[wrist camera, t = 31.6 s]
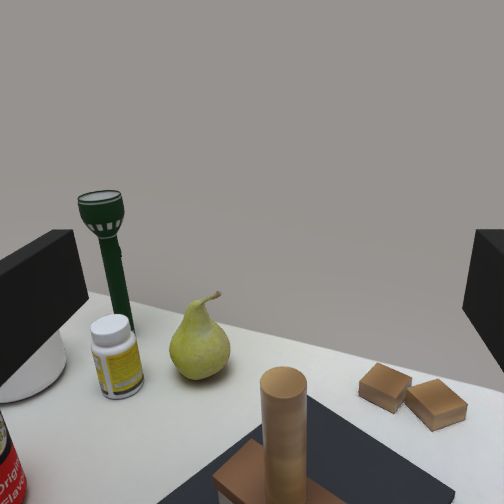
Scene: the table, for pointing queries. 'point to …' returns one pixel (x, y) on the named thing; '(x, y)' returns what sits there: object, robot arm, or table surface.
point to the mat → (335, 467)
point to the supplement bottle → (116, 356)
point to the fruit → (199, 343)
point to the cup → (36, 371)
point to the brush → (275, 450)
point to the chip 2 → (435, 404)
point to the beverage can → (10, 470)
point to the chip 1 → (384, 387)
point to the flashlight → (108, 242)
